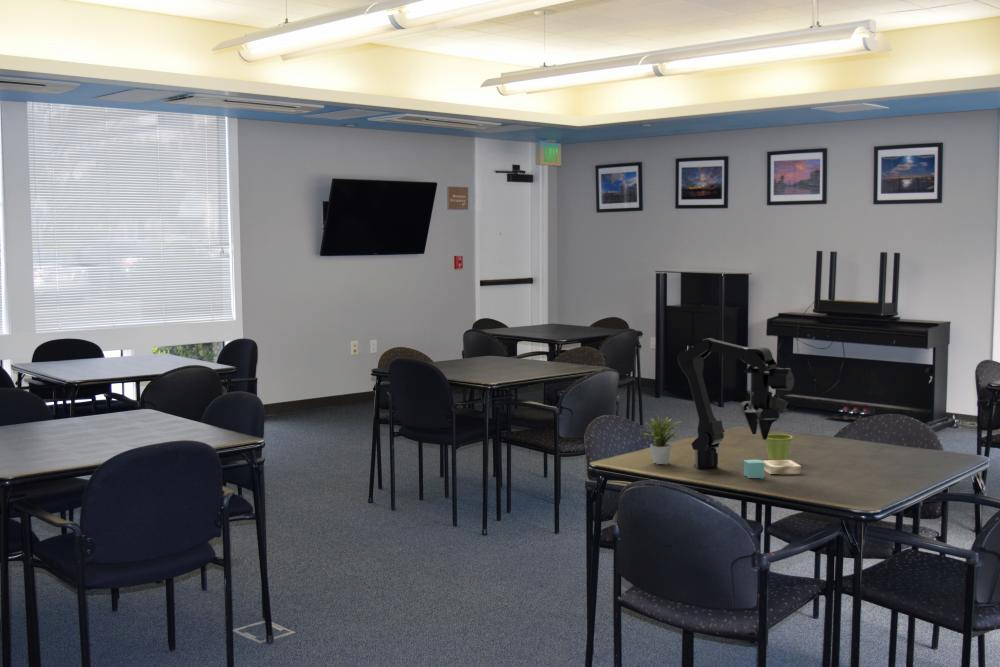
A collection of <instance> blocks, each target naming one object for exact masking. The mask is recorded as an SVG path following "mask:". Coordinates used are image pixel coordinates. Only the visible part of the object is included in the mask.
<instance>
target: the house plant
mask: <svg viewBox="0 0 1000 667" xmlns="http://www.w3.org/2000/svg"><path fill="white" fill-rule="evenodd" d="M650 420H651V425H650V424H649V423H648V422H646V421H644V423H645V424H646V425H647V426H648V427H649V428H650V430H651V432H652V433H651V434H650V433H648V432H644V433H642V435H645V436H649V437H651V438H652V439H653V441H654V442H653V443H650V445H649V446H650V450H651V456H652V461H653V462H654V463H657V464H656V465H658V464H665V465H668V463H669V464H670V457H671V453H672V452H671V450H672V444H671V443H668V441H670V439H671V438H674V439H678V438H677V437H678V435H676V434H677V433H678V431H675V432H674V433H672V432H671V431H672V430H674V429H677V428H680V426H678V425H679V423H682V422H683V420H682V421H681V420H680V421H677V422H672V423H670V422H671V421H672V418H670V419H669V415H668V416H666V418H665V420H664V422H663V424H662V421H661V420H660V416H659V415H657V420H658V421H657V420H654V418H652V417H651V419H650ZM654 463H653V464H654Z"/></svg>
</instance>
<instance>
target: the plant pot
mask: <svg viewBox="0 0 1000 667" xmlns="http://www.w3.org/2000/svg"><path fill="white" fill-rule="evenodd" d="M792 439H793V435H789V434H784V433H771V434H770V433H768V437H767V439H766V440H764V442H765V443H766V444H765V445H766V450H767V458H768V459H767V460H789V454H790V453H789V452H790V446H791V443H792Z"/></svg>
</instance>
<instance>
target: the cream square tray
mask: <svg viewBox="0 0 1000 667" xmlns="http://www.w3.org/2000/svg"><path fill="white" fill-rule="evenodd" d="M761 461H762V462H764V470H765V471H766V473H767V472H768V473H769V475H770V474H780V475H801V474H802V465H800V464H799V463H797V462H795V461H794V460H792V459H788V460H769V459H767V460H761ZM765 471H764V472H765ZM768 473H767V474H768Z"/></svg>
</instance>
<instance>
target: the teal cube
mask: <svg viewBox="0 0 1000 667" xmlns="http://www.w3.org/2000/svg"><path fill="white" fill-rule="evenodd" d="M762 461H763V460H761V459H744V460H743V476H744V475H746V476H747V477H748V478H761V479H765V471H764V462H762ZM747 477H746V478H747ZM748 478H747V479H748Z"/></svg>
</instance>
